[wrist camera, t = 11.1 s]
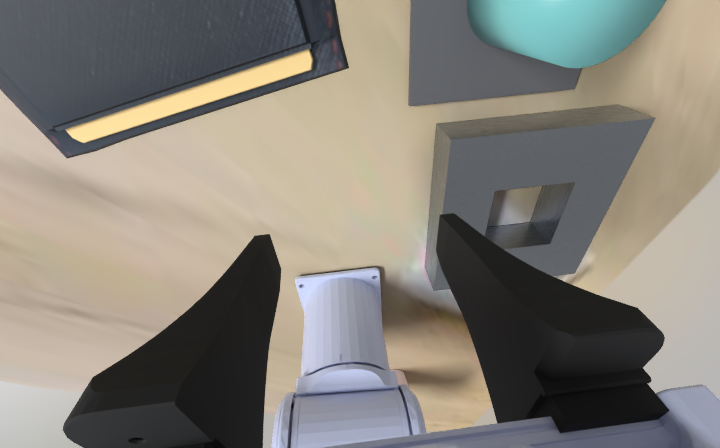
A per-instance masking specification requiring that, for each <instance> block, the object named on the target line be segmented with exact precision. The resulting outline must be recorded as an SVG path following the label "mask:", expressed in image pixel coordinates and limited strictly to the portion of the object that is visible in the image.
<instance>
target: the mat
mask: <svg viewBox="0 0 720 448" xmlns="http://www.w3.org/2000/svg"><path fill="white" fill-rule="evenodd" d="M580 70H581V68H567V67H562V66H559V65H556V64H552V63H549V62H545V61H542V60H538V59H535V58H532V57H528V56H525V55H521V54H518V53H515V52H511V51H508V50H504V49H501V48H497V47H494V46H491V45H488V44H486V43H484V42H482V41H481V40H480V39H479V38H478V37H477V36H476V35H475V33H474V32H473V30H472V28H471V26H470V23H469V20H468V14H467V0H411V18H410V61H409V103H408V104H409V106H416V105H425V104H435V103H445V102H454V101H464V100H474V99H483V98H493V97H503V96H512V95H522V94H532V93H541V92H551V91H561V90H570V89H574V88H575V85H576V82H577V79H578V76H579V73H580Z"/></svg>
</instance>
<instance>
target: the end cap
mask: <svg viewBox="0 0 720 448" xmlns="http://www.w3.org/2000/svg"><path fill="white" fill-rule="evenodd" d="M665 2H666V0H467V14H468V20H469V23H470V26H471V28H472V30H473V32H474V33H475V35H476V36H477V37H478V38H479V39H480V40H481V41H482V42H484V43H486V44H488V45H491V46H494V47H497V48H501V49H504V50H508V51H511V52H515V53H518V54H521V55H525V56H528V57H532V58H535V59H538V60H542V61H545V62H549V63H552V64H556V65H559V66H562V67H567V68H584V67H589V66H593V65H596V64H598V63H601V62H603V61H605V60H607V59H609V58H611V57H613V56H614V55H616V54H618V53H619V52H621V51H622V50H623V49H625V48H626V47H627V46H628V45H630V44H631V43H632V42H633V41H634V40H635V39H636V38H637V37H639V36H640V34H641V33H642V32H643V31H644V30H645V29H646V28H647V27H648V26H649V24H650V23H651V22H652V21H653V20H654V18H655V17H656V16H657V14H658V13H659V11H660V10H661V8H662V7H663V5H664V3H665Z"/></svg>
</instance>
